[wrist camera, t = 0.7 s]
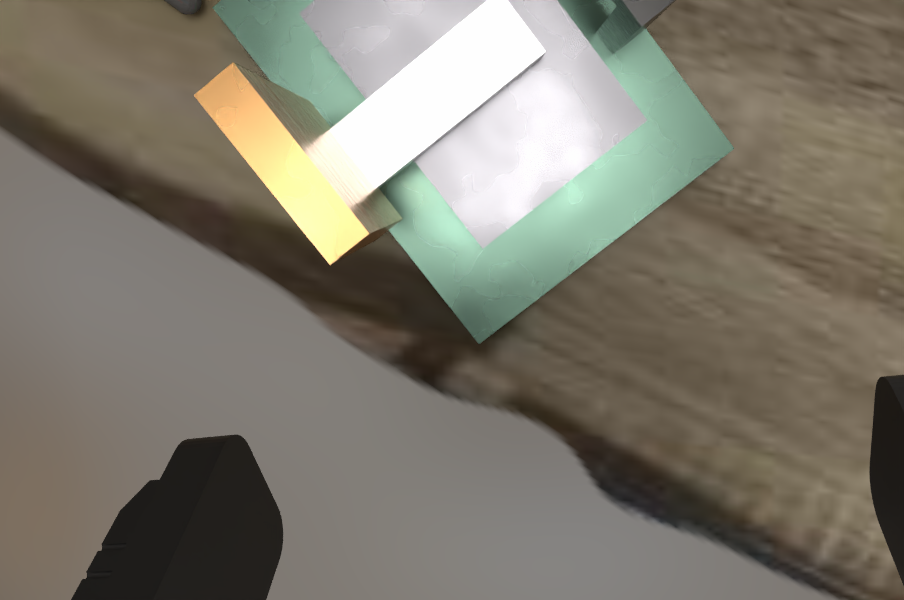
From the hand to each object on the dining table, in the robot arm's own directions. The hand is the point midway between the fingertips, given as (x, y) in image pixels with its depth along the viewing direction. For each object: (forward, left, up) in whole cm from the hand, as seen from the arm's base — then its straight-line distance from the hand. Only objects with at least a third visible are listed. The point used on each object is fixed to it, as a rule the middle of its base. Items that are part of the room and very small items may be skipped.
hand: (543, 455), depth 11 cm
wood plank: (-6, +2, -18) cm, 19 cm away
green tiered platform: (-6, +4, -23) cm, 24 cm away
